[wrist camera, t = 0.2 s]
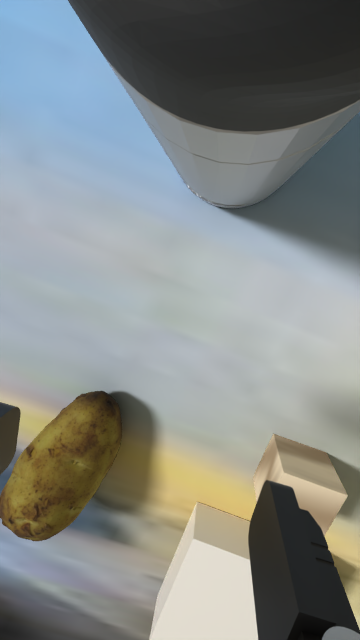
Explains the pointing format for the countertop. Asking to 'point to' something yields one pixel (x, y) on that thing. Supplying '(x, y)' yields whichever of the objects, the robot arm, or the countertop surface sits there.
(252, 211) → the countertop surface
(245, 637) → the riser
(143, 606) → the countertop surface
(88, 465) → the potato
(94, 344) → the countertop surface
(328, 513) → the birch block
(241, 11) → the robot arm
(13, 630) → the countertop surface
